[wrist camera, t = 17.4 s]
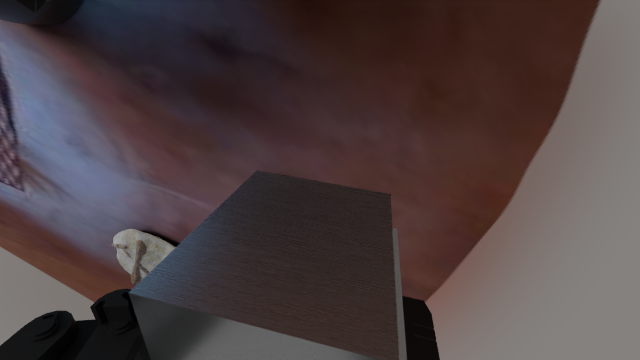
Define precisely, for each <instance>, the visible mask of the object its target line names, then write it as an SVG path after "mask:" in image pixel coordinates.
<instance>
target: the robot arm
mask: <svg viewBox="0 0 640 360" xmlns="http://www.w3.org/2000/svg"><path fill="white" fill-rule="evenodd" d="M81 2H82V0H0V19H1V20H4V21H9V22H13V23H20V24H34V25H54V24H58V23H61V22H63V21H65V20H66V19H68V18H69V17H71V16H72V15H73V14H74V13H75V11H76V10H77V9H78V7H79V6H80V4H81ZM392 231H393V250H394V269H395V288H396V307H397V326H398V346H399V360H440V359H439V353H438V347H437V342H436V336H435V331H434V326H433V320H432V315H431V312H430V311H429V309H428V307H427V306H426V304H425V302H424V301H422V300H418V299H414V298H409V297H405V296H402V288H401V275H400V262H399V249H398V236H397V228H392ZM131 290H132V289H121V290H116V291H113V292H111V293H108V294H106V295H104V296H103V297H101V298H100V299H98V300H97V301H96V302H95V303H94V304H93V305H92V306H91V307H90V308H91V310H92V312H93V314H94V317H95V319H96V320H83V321H75V320H74V318H73V316H72V314H71V313H69V312H67V311H54V312H50V313H46V314H44V315H42V316H40V317H38V318H35V319H34V320H32V321H31V322H30V323H28V324H27V325H25V326H24V327H23V328H21V329H20V330H19V331H18V332H16V333H15V334H14V335H13V336H12V337H10V338H9V339H8V340H7V341H6V342H4V343H3V344H2V345H1V346H0V360H151V359H150V356H149V353H148V350H147V347H146V344H145V341H144V338H143V335H142V332H141V329H140V326H139V323H138V320H137V317H136V314H135V311H134V308H133V305H132V302H131V299H130V296H129V292H130V291H131Z"/></svg>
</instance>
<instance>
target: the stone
mask: <svg viewBox="0 0 640 360" xmlns="http://www.w3.org/2000/svg"><path fill="white" fill-rule="evenodd" d="M113 240H114V242H113V244H112V246H114V247H116V249H117V259H118V260H119V262H120V264H121V265H122V267H123V268H124V269H125V270H126V271H127V272H128V273H130V274H131V282H132V283H133V284H135V283H139V282H140V281H141V280H142V279H143V278H144V277H146V276H147V275H148V274H149V273H150V272H151V271H152V270H153V269H154V268H155V267H156V266H157V265H158V264H159V263H160V262H161V261H162V260H163V259H164V258H165V257H167V256H168V255H169V254H170V253H171V252H172V251H173V250H174V249H175V248H176V247H174V246H173V245H171V244H170V243H168V242H166V241H164V240H162V239H161V238H160V237H159V236H153V235H151V234H148V233H143V232H141V231H138V230H135V229H127V230H124V231H122V232H119V233H118V234H117V235H115V237H114V238H113Z"/></svg>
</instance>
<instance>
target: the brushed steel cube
mask: <svg viewBox="0 0 640 360" xmlns="http://www.w3.org/2000/svg"><path fill="white" fill-rule="evenodd" d="M129 296H130V299H131V302H132V305H133V308H134V311H135V314H136V317H137V320H138V323H139V326H140V329H141V332H142V335H143V338H144V341H145V344H146V347H147V350H148V353H149V356H150V359H151V360H399V346H398V326H397V307H396V288H395V269H394V250H393V231H392V212H391V194H388V193H383V192H377V191H371V190H366V189H360V188H354V187H348V186H343V185H337V184H331V183H326V182H320V181H314V180H309V179H303V178H297V177H292V176H286V175H280V174H274V173H269V172H263V171H256V172H255V173H254V174H253V175H252V176H250V177H249V178H248V179H247V180H246V181H245V182H244V183H243V184H242V185H241V186H240V187H239V188H238V189H237V190H236V191H235V192H234V193H233V194H232V195H231V196H229V197H228V198H227V199H226V200H225V201H224V202H223V203H222V204H221V205H220V206H219V207H218V208H217V209H216V210H215V211H214V212H213V213H212V214H211V215H210V216H208V217H207V218H206V219H205V220H204V221H203V222H202V223H201V224H200V225H199V226H198V227H197V228H196V229H195V230H194V231H193V232H192V233H191V234H190V235H189V236H187V237H186V238H185V239H184V240H183V241H182V242H181V243H180V244H179V245H178V246H177V247H176V248H175V249H174V250H173V251H172V252H171V253H170V254H169V255H168V256H167V257H165V258H164V259H163V260H162V261H161V262H160V263H159V264H158V265H157V266H156V267H155V268H154V269H153V270H152V271H151V272H150V273H149V274H148V275H147V276H146V277H144V278H143V279H142V280H141V281H140V282H139V283H138V284H137V285H136V286H135V287H134V288H133V289H132V290H131V291H130V292H129Z"/></svg>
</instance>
